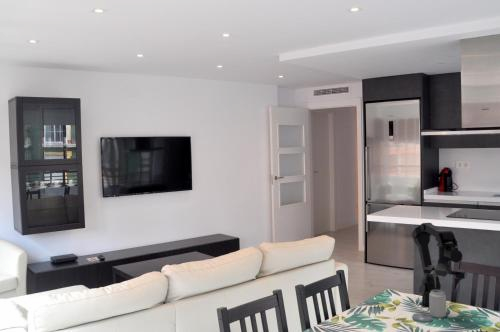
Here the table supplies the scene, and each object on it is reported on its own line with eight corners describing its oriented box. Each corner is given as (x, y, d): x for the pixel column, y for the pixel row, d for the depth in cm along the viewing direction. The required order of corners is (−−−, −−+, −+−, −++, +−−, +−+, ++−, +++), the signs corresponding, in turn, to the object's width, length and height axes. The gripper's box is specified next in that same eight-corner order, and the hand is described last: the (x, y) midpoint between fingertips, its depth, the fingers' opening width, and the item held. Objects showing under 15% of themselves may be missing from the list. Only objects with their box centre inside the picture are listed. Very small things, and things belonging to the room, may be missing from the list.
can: (443, 313, 235) (443, 288, 234) (448, 318, 227) (448, 293, 227) (427, 312, 235) (427, 288, 235) (431, 318, 228) (431, 293, 227)
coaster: (408, 319, 228) (408, 316, 228) (418, 314, 234) (418, 311, 234) (426, 324, 221) (426, 321, 221) (436, 318, 227) (436, 316, 227)
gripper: (419, 258, 228) (419, 290, 229) (461, 263, 217) (461, 297, 218) (427, 253, 237) (427, 284, 238) (467, 258, 226) (467, 291, 227)
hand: (445, 289), depth 230 cm, fingers open, 9 cm apart
